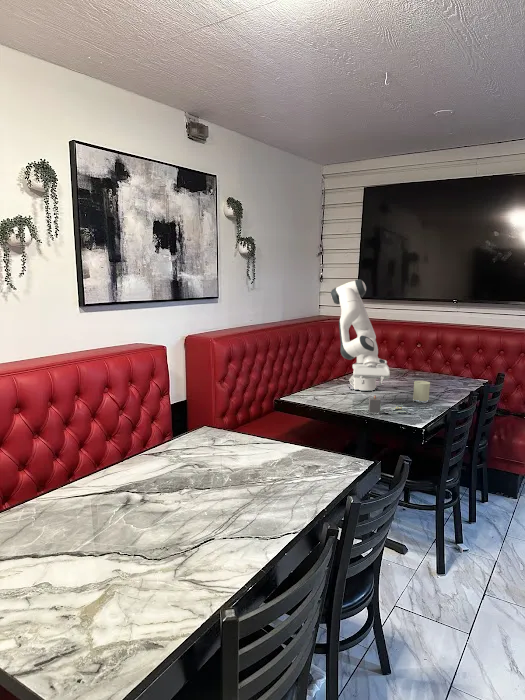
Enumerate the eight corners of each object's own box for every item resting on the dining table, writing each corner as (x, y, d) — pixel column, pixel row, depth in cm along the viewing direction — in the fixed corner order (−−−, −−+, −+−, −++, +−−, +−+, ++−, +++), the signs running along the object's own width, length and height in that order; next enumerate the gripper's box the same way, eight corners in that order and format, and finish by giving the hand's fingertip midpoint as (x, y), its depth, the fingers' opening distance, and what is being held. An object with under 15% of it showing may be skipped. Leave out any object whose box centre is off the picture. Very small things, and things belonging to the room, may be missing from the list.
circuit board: (375, 406, 260) (376, 400, 259) (400, 405, 262) (401, 400, 261) (388, 414, 243) (388, 409, 243) (414, 414, 245) (415, 408, 245)
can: (409, 400, 273) (410, 380, 271) (420, 398, 277) (422, 379, 275) (420, 404, 265) (421, 383, 263) (432, 402, 269) (433, 382, 267)
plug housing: (368, 412, 248) (369, 394, 246) (379, 412, 247) (380, 394, 246) (369, 414, 244) (370, 396, 242) (380, 414, 243) (381, 396, 242)
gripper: (352, 359, 261) (353, 380, 253) (389, 360, 259) (391, 381, 251) (351, 365, 266) (352, 386, 258) (388, 367, 264) (389, 387, 256)
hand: (371, 384), depth 254 cm, fingers open, 8 cm apart
